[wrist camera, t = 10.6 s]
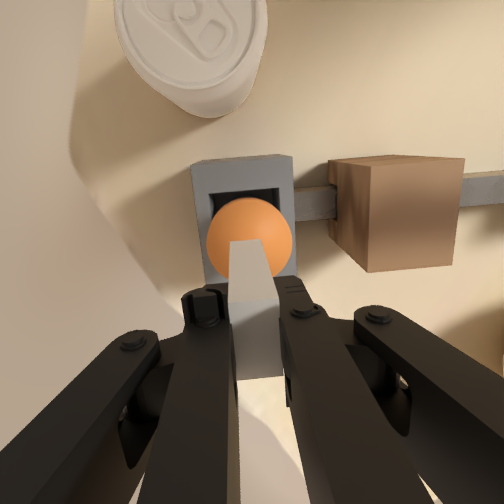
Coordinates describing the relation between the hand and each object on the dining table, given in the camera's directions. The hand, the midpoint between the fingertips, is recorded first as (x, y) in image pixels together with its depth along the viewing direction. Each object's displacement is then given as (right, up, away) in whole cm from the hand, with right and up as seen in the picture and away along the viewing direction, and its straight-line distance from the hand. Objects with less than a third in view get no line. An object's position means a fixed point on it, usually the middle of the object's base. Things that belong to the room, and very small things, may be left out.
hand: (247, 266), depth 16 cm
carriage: (+10, +6, +15) cm, 19 cm away
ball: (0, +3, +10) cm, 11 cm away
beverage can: (-3, +16, +11) cm, 20 cm away
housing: (-1, +5, +15) cm, 16 cm away
